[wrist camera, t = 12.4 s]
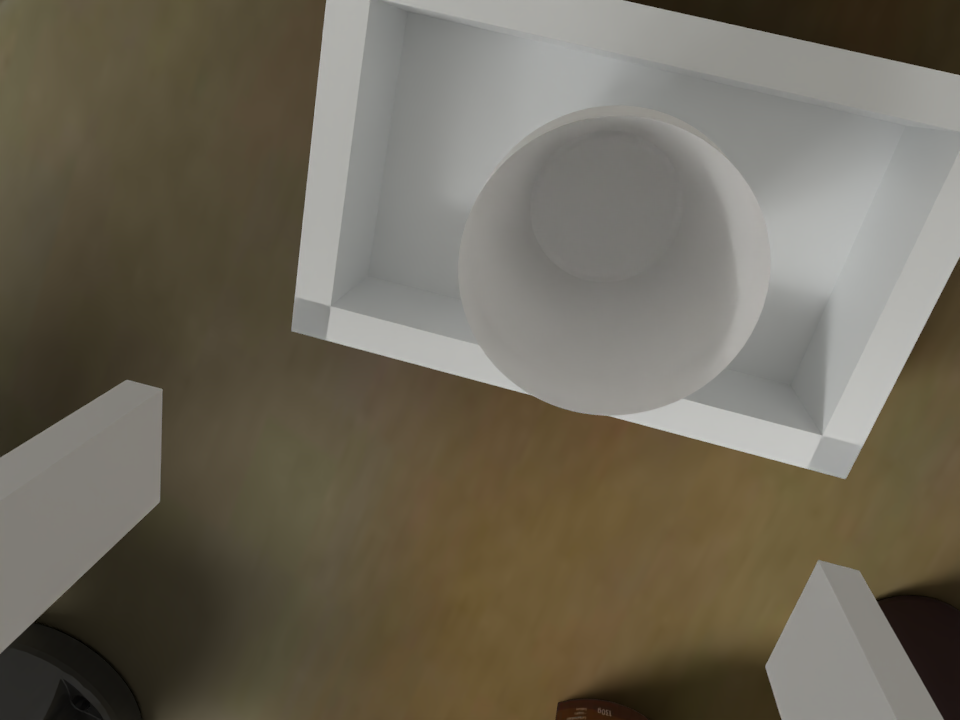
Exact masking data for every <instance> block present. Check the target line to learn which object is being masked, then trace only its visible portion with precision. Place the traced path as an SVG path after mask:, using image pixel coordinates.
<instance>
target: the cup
mask: <svg viewBox="0 0 960 720" xmlns="http://www.w3.org/2000/svg"><path fill="white" fill-rule="evenodd" d="M770 264H771V257H770V243H769V238H768V232H767V227H766V224H765V220H764V217H763V214H762V211H761V209H760V206H759V204H758V201H757V199H756V197H755V196H754V194H753V192H752V190H751V188H750V186H749V185H748V184H747V182H746V181H745V179H744V178H743V176H742V175H741V173H740V172H739V171H738V170H737V169H736V168H735V167H734V165H733V164H732V163H731V162H730V160H729V159H728V158H727V156H726V155H725V154H724V153H723V152H722V151H721V150H720V148H719V147H718V146H717V145H716V144H714V143H713V142H712V141H711V140H710V139H709V138H708V137H707V136H705V135H704V134H703V133H701V132H700V131H699V130H697V129H696V128H694V127H692V126H691V125H689V124H687V123H686V122H684V121H682V120H680V119H677V118H675V117H673V116H671V115H668V114H665V113H662V112H659V111H656V110H652V109H647V108H642V107H635V106H625V105H610V106H600V107H592V108H587V109H583V110H578V111H575V112H572V113H569V114H566V115H563V116H561V117H559V118H556V119H554V120H552V121H550V122H548V123H546V124H544V125H543V126H541V127H539V128H537V129H536V130H534V131H533V132H532V133H530V134H529V135H527V136H526V137H525V138H523V139H522V140H521V141H520V142H519V143H518V144H516V145H515V146H514V147H513V148H512V149H511V150H510V151H509V152H508V153H507V154H506V155H505V156H504V158H503V159H502V160H501V161H500V163H499V164H498V165H497V166H496V168H495V169H494V171H493V172H492V174H491V175H490V177H489V179H488V180H487V182H486V184H485V186H484V187H483V189H482V191H481V192H480V194H479V195H478V197H477V199H476V201H475V203H474V205H473V207H472V209H471V211H470V214H469V216H468V219H467V221H466V224H465V228H464V231H463V235H462V239H461V244H460V250H459V260H458V281H459V289H460V296H461V301H462V305H463V309H464V312H465V315H466V318H467V321H468V323H469V326H470V328H471V330H472V332H473V334H474V336H475V338H476V340H477V342H478V343H479V345H480V347H481V348H482V350H483V351H484V352H485V354H486V355H487V357H488V358H489V359H490V360H491V361H492V363H493V364H494V365H495V366H496V367H497V368H498V369H499V370H500V371H501V372H502V373H503V374H504V375H505V376H506V377H507V378H508V379H509V380H511V381H512V382H513V383H514V384H516V385H517V386H518V387H520V388H521V389H523V390H524V391H526V392H527V393H529V394H531V395H533V396H534V397H536V398H538V399H540V400H542V401H545V402H547V403H549V404H551V405H554V406H557V407H560V408H563V409H566V410H570V411H574V412H579V413H585V414H592V415H606V416H607V415H627V414H635V413H640V412H645V411H650V410H653V409H657V408H660V407H663V406H666V405H669V404H671V403H674V402H676V401H678V400H680V399H682V398H684V397H686V396H688V395H690V394H692V393H693V392H695V391H697V390H698V389H700V388H702V387H703V386H704V385H706V384H707V383H708V382H710V381H711V380H712V379H714V378H715V377H716V376H717V375H718V374H719V373H720V372H722V371H723V370H724V369H725V368H726V367H727V366H728V365H729V363H730V362H731V361H732V360H733V359H734V358H735V357H736V356H737V354H738V353H739V352H740V350H741V349H742V348H743V346H744V345H745V343H746V342H747V340H748V338H749V337H750V335H751V334H752V332H753V330H754V328H755V326H756V324H757V322H758V320H759V317H760V314H761V312H762V309H763V306H764V303H765V299H766V295H767V291H768V285H769V279H770Z"/></svg>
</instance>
